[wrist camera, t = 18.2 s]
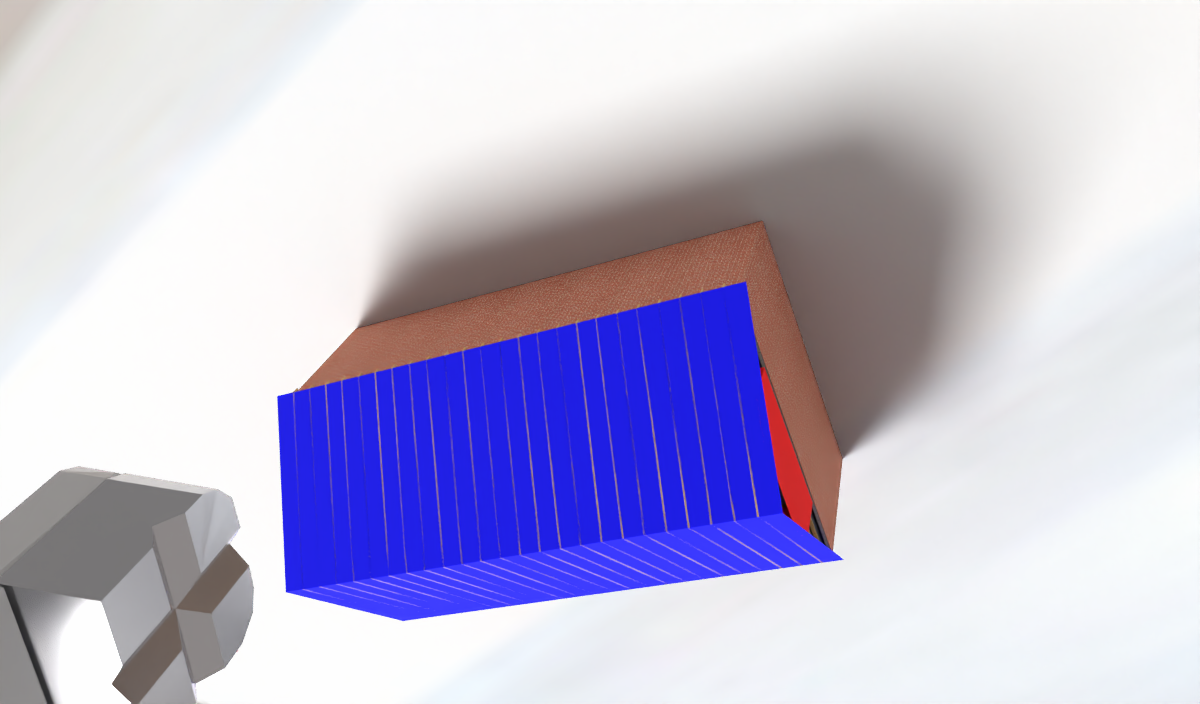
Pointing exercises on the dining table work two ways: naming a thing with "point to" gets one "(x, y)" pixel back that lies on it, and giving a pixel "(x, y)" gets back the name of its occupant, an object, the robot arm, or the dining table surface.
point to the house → (563, 440)
